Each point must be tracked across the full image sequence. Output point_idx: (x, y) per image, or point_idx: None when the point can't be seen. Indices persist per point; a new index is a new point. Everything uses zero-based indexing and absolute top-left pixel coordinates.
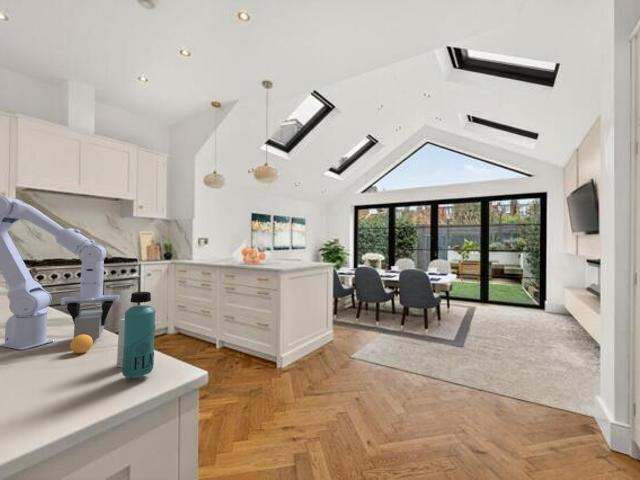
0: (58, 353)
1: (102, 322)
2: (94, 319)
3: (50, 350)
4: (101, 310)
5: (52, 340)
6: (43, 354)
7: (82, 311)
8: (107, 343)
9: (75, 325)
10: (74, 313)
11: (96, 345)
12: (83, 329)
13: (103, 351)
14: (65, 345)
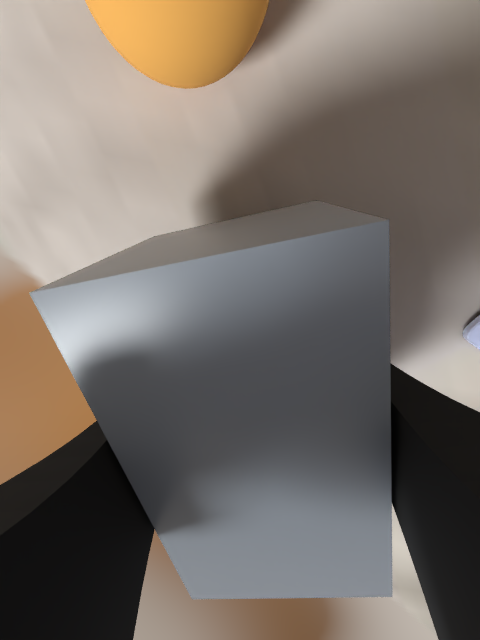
0: (366, 36)
1: None
2: (114, 270)
3: (442, 142)
4: (206, 580)
5: (473, 335)
6: (474, 28)
7: (384, 583)
8: (124, 242)
9: (337, 211)
10: (456, 435)
11: (173, 209)
12: (250, 223)
13: (48, 27)
14: None
